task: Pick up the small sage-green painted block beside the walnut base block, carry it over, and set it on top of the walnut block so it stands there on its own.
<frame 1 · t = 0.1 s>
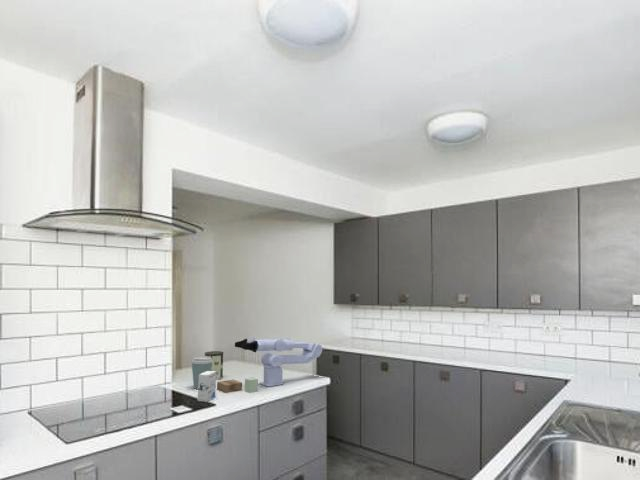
hand: (238, 345, 212), 22 cm above the worktop, tool horizontal, fingers open, 7 cm apart
disposable coffee cup: (201, 388, 215), on the worktop
coffee can: (213, 378, 236), on the worktop
green block: (251, 391, 208), on the worktop
walnut base: (229, 390, 211), on the worktop
ink box: (206, 399, 194), on the worktop
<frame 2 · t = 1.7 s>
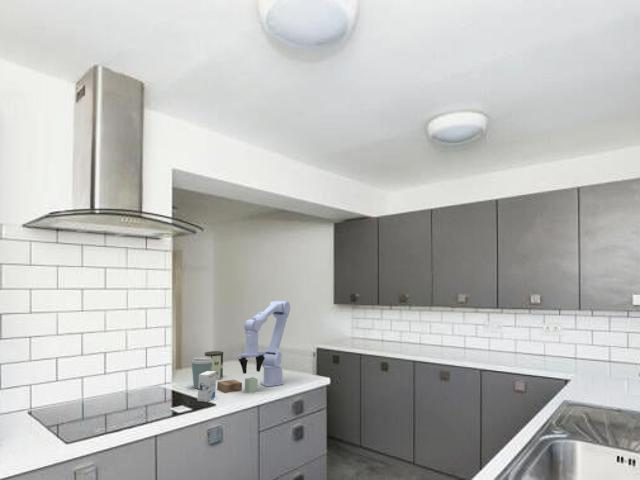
hand: (251, 372, 209), 9 cm above the worktop, tool pointing down, fingers open, 7 cm apart
nothing on the worktop moved.
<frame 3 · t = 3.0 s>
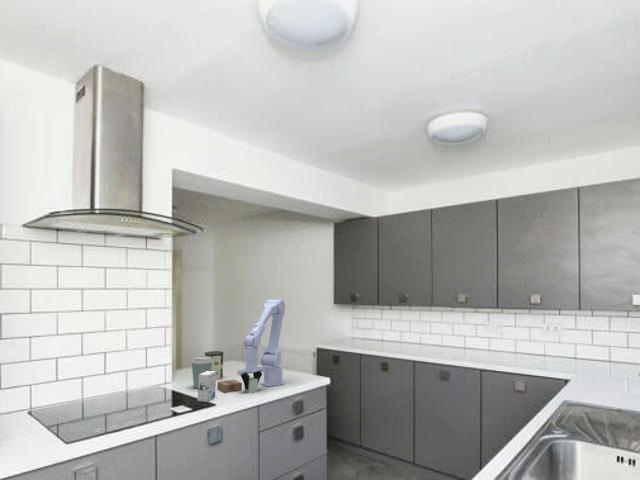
hand: (251, 388, 208), 1 cm above the worktop, tool pointing down, fingers closed on green block, 4 cm apart
green block: (251, 391, 208), on the worktop, touching gripper
everything else where it was.
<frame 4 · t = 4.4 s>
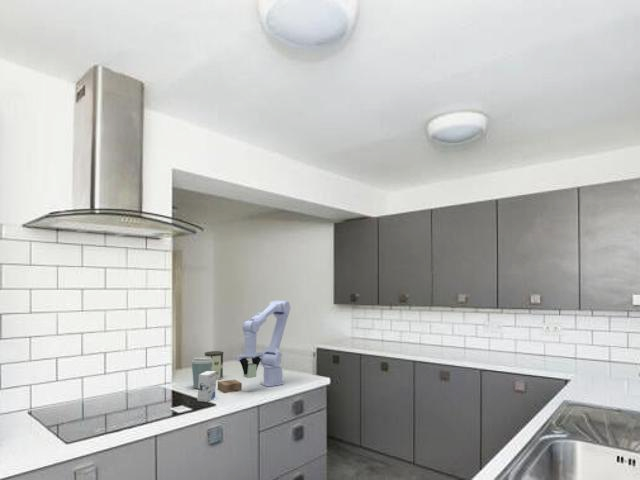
hand: (249, 373, 209), 8 cm above the worktop, tool pointing down, fingers closed on green block, 4 cm apart
green block: (249, 376, 209), point 7 cm above the worktop, touching gripper
everything else where it was.
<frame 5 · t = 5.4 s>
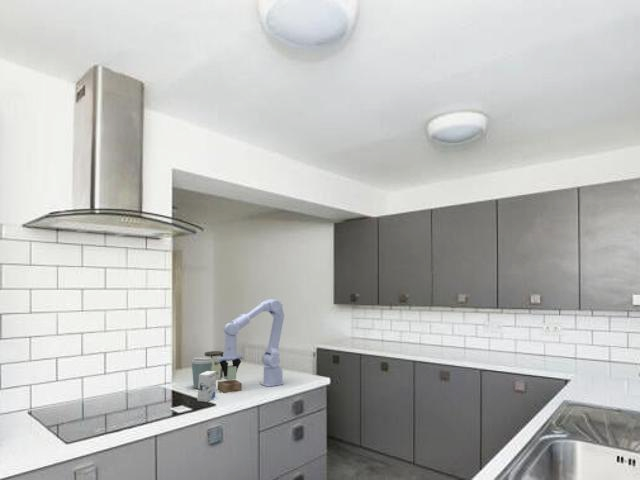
hand: (229, 375, 211), 7 cm above the worktop, tool pointing down, fingers closed on green block, 4 cm apart
green block: (229, 378, 211), point 5 cm above the worktop, touching gripper
everything else where it was.
when the fingers open (7 cm above the worktop, at t = 5.8 s): green block drops 2 cm, resting on walnut base.
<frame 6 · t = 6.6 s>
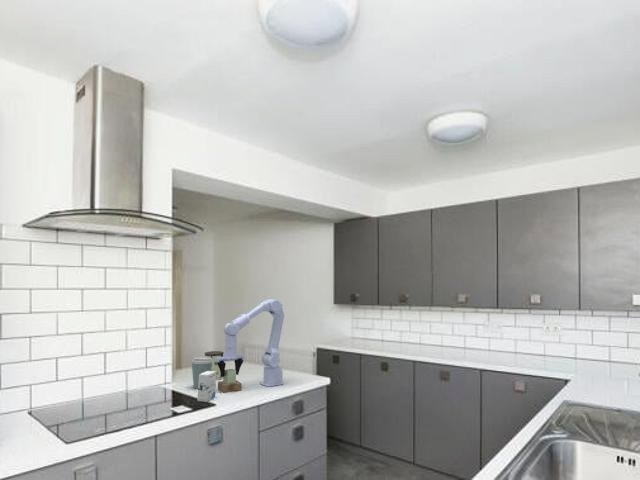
hand: (229, 375, 211), 7 cm above the worktop, tool pointing down, fingers open, 7 cm apart
green block: (229, 382, 211), point 4 cm above the worktop, touching walnut base
walnut base: (229, 390, 211), on the worktop, touching green block
everything else where it was.
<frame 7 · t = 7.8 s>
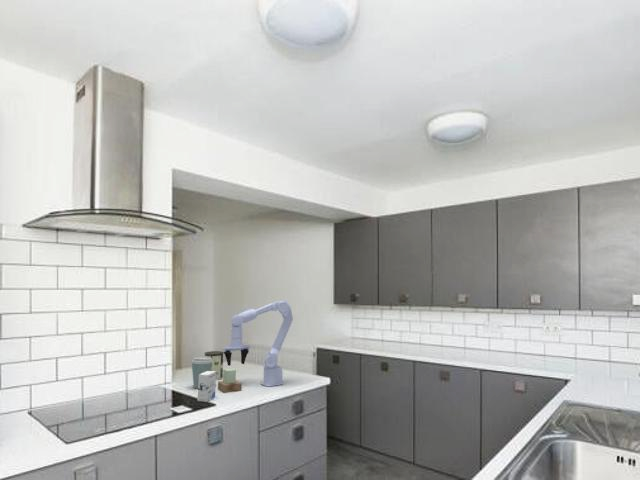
hand: (235, 364, 222), 10 cm above the worktop, tool pointing down, fingers open, 7 cm apart
green block: (229, 382, 211), point 4 cm above the worktop
walnut base: (229, 390, 211), on the worktop
everything else where it was.
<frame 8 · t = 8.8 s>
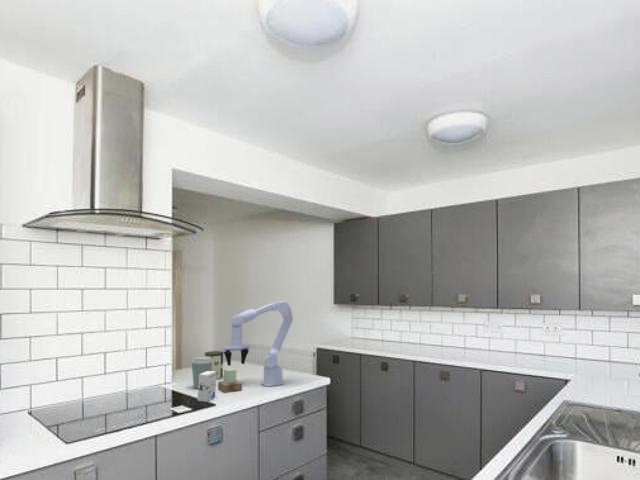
hand: (235, 364, 222), 10 cm above the worktop, tool pointing down, fingers open, 7 cm apart
nothing on the worktop moved.
at the end: green block 0.3 cm off-centre on the walnut base, point 4.0 cm above the walnut base's base; green block tilted 0°; the gripper is holding nothing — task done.
